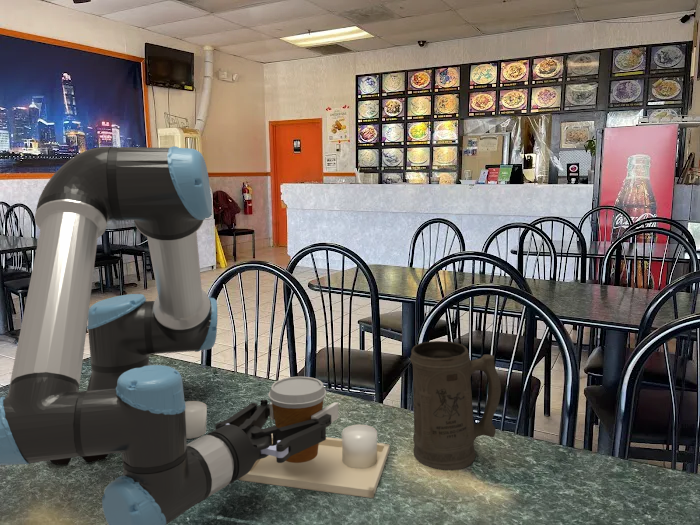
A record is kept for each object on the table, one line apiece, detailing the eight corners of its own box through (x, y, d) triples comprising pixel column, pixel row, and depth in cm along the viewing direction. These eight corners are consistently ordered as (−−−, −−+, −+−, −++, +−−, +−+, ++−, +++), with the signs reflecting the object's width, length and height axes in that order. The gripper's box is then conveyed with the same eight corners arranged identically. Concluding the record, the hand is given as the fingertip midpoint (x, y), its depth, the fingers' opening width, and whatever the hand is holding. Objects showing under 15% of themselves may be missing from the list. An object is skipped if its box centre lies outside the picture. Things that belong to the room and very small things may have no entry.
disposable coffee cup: (319, 471, 86) (317, 398, 85) (262, 465, 88) (259, 394, 87) (333, 443, 96) (332, 377, 94) (281, 438, 97) (279, 373, 96)
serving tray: (273, 440, 102) (273, 431, 102) (389, 453, 97) (389, 444, 97) (239, 483, 88) (238, 472, 88) (373, 501, 83) (373, 490, 83)
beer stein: (419, 476, 90) (420, 359, 87) (402, 445, 100) (403, 340, 97) (507, 468, 92) (512, 354, 89) (482, 439, 103) (485, 336, 100)
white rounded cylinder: (346, 449, 98) (346, 422, 97) (380, 453, 96) (380, 426, 96) (338, 466, 92) (338, 438, 91) (373, 470, 91) (373, 442, 90)
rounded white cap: (172, 427, 107) (172, 402, 107) (203, 423, 110) (203, 399, 109) (176, 440, 102) (176, 415, 101) (208, 436, 105) (209, 411, 104)
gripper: (169, 464, 82) (270, 411, 101) (274, 509, 71) (367, 440, 90) (166, 416, 81) (269, 372, 100) (273, 454, 70) (367, 396, 88)
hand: (315, 404), depth 95 cm, fingers closed on disposable coffee cup, 8 cm apart
